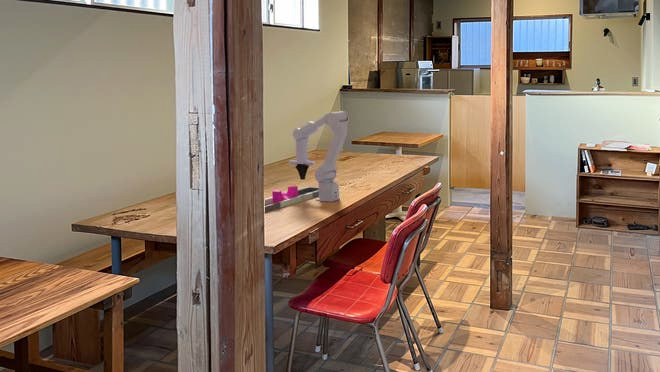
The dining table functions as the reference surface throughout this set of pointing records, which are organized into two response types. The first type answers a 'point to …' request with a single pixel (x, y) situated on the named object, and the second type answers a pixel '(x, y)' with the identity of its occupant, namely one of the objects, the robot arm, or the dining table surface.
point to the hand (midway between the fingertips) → (302, 179)
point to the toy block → (285, 194)
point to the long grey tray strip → (302, 195)
